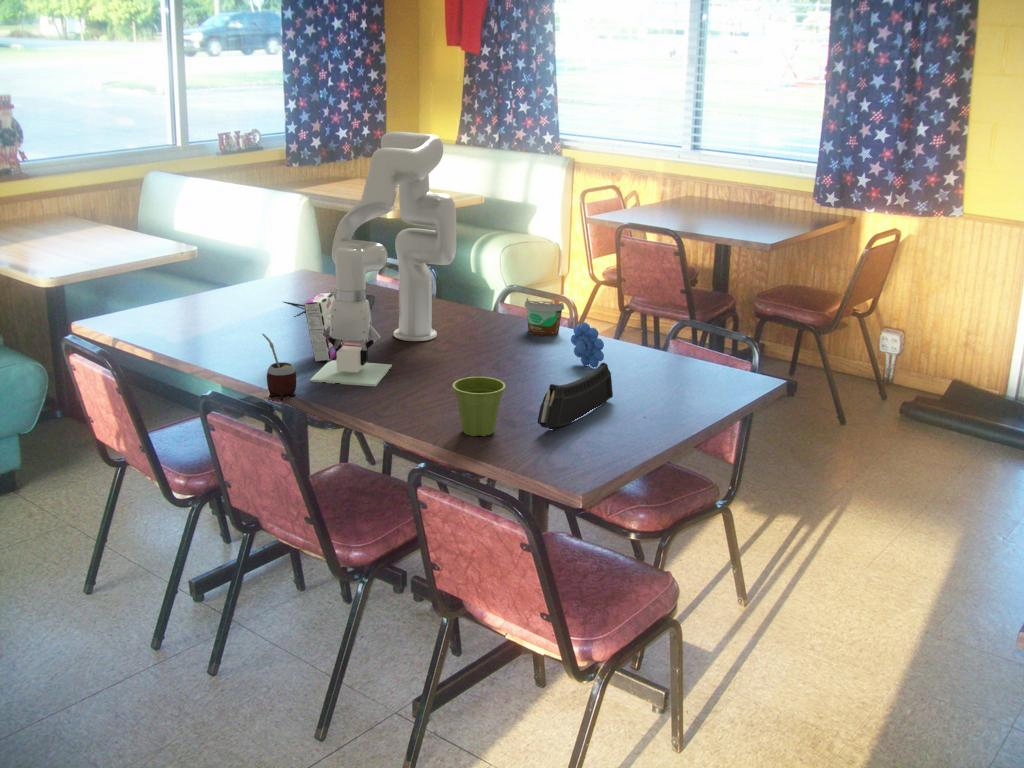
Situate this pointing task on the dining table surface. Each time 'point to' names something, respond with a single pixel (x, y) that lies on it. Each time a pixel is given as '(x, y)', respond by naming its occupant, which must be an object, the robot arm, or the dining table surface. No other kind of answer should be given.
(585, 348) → the grapes
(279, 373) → the mate gourd
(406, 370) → the dining table surface
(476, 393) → the plant pot
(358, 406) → the dining table surface
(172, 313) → the dining table surface
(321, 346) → the candy bar box
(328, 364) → the mat
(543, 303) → the food container
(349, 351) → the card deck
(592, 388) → the magazine
